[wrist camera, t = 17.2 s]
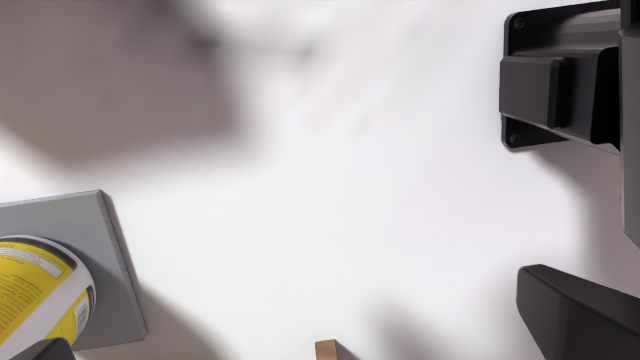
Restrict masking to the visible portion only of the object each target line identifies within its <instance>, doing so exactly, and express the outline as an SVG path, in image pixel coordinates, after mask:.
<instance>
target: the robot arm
mask: <svg viewBox="0 0 640 360" xmlns="http://www.w3.org/2000/svg"><path fill="white" fill-rule="evenodd" d="M516 19H518V20H519V22H520V25H519V27H518V28H517V29H516V28H515V27H514V21H515V20H516ZM499 112H501V113H502V132H501V139H502V142H503V144H504V145H506V146H508V147H510V148H518V147H525V146H532V145H539V144H546V143H553V142H560V141H567V140H573V141H576V142H580V143H583V144H586V145H589V146H592V147H595V148H598V149H601V150H604V151H607V152H610V153H613V154H616V155H619V156H620V164H621V197H620V209H621V219H622V224H623V228H624V233H625V234H626V235H627V236H628V237H629V238H630V239H631V240H632V241H633V242H634V243H635V244H636V245H637V246H638V247H639V248H640V0H605V1H598V2H590V3H583V4H575V5H568V6H561V7H553V8H546V9H538V10H531V11H523V12H516V13H513V14H510V15H509V16H508V17H507V19H506V20H505V24H504V53H503V59H502V60H501V62H500V87H499ZM513 134H515V136H516V137H515V139H514V140H513V141H511V142H510V137H511V136H512V135H513ZM516 303H517V308H518V311H519V313H520V315H521V317H522V319H523V321H524V322H525V324H526V326H527V328H528V329H529V331H530V333H531V335H532V336H533V338H534V340H535V342H536V343H537V345H538V347H539V349H540V350H541V352H542V354H543V356H544V357H545V359H546V360H640V299H639V298H637V297H634V296H631V295H628V294H625V293H622V292H619V291H617V290H614V289H611V288H608V287H605V286H602V285H599V284H597V283H594V282H591V281H588V280H585V279H582V278H580V277H577V276H574V275H571V274H568V273H565V272H562V271H560V270H557V269H554V268H551V267H548V266H545V265H542V264H536V265H530V266H523V267H521V268H520V269H519V271H518V275H517V298H516ZM9 360H76V358H75V356H74V354H73V351H72V349H71V346H70V344H69V342H68V340H67V339H66V338H64V337H56V338H49V339H43V340H40V341H38V342H36V343H34V344H33V345H31V346H30V347H28V348H26V349H25V350H23V351H22V352H20V353H18V354H17V355H15V356H14V357H12V358H10V359H9Z"/></svg>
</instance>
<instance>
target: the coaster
mask: <svg viewBox="0 0 640 360" xmlns="http://www.w3.org/2000/svg"><path fill="white" fill-rule="evenodd" d="M12 235H28V236H35V237H40V238H44V239H47V240H50V241H53V242H55V243H57V244H59V245H61V246H63V247H65V248H66V249H68V250H69V251H71V252H72V253H73V254H74V255H75V256H77V257H78V258H79V259H80V260H81V261H82V263H83V264H84V265H85V266H86V268H87V269H88V271H89V272H90V274H91V277H92V279H93V281H94V285H95V290H96V303H95V308H94V311H93V314H92V316H91V318H90V320H89V322H88V323H87V325H86V326H85V328H84V329H83V330H82V332H81V333H80V335H79V336H78V337H77V339H76V340H75V341H74V343H73V344H72V346H71V349H72V351H78V350H84V349H91V348H97V347H104V346H110V345H117V344H123V343H130V342H136V341H143V340H145V338H146V336H147V334H148V331H147V328H146V325H145V322H144V319H143V316H142V313H141V310H140V307H139V304H138V301H137V298H136V295H135V292H134V289H133V286H132V283H131V280H130V277H129V274H128V271H127V268H126V265H125V262H124V259H123V256H122V253H121V250H120V247H119V244H118V241H117V238H116V235H115V232H114V229H113V226H112V223H111V220H110V217H109V214H108V211H107V208H106V205H105V202H104V199H103V196H102V193H101V190H94V191H87V192H80V193H73V194H66V195H59V196H52V197H45V198H38V199H31V200H24V201H17V202H10V203H3V204H0V238H1V237H5V236H12Z"/></svg>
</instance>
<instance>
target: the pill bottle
mask: <svg viewBox="0 0 640 360" xmlns="http://www.w3.org/2000/svg"><path fill="white" fill-rule="evenodd" d="M95 303H96V290H95V285H94V281H93V279H92V277H91V274H90V272H89V271H88V269H87V268H86V266H85V265H84V264H83V263H82V261H81V260H80V259H79V258H78V257H77V256H75V255H74V254H73V253H72V252H71V251H69V250H68V249H66V248H65V247H63V246H61V245H59V244H57V243H55V242H53V241H50V240H47V239H44V238H40V237H35V236H28V235H12V236H5V237H1V238H0V360H9V359H10V358H12V357H14V356H15V355H17V354H18V353H20V352H22V351H23V350H25V349H26V348H28V347H30V346H31V345H33V344H34V343H36V342H38V341H40V340H43V339H49V338H56V337H64V338H66V339H67V340H68V342H69V344H70V346H72V344H73V343H74V341H75V340H76V339H77V337H78V336H79V335H80V333H81V332H82V330H83V329H84V328H85V326H86V325H87V323H88V322H89V320H90V318H91V316H92V314H93V311H94V308H95Z"/></svg>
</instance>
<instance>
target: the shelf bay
mask: <svg viewBox="0 0 640 360" xmlns="http://www.w3.org/2000/svg"><path fill="white" fill-rule="evenodd" d="M315 349H316V360H337V353H336V347H335V340H327V341H321V342H315Z"/></svg>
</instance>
